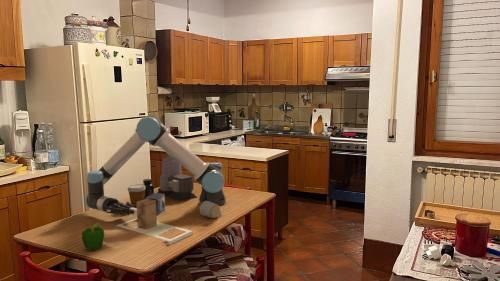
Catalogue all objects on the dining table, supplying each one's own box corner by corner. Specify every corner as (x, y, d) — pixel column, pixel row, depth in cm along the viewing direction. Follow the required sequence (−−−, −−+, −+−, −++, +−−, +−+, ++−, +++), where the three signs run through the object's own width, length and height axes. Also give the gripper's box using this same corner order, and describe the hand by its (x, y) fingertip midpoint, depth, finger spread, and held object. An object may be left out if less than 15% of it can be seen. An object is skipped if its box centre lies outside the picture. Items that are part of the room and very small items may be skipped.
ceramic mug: (210, 220, 187) (210, 205, 186) (199, 217, 192) (199, 202, 191) (225, 215, 195) (225, 200, 194) (214, 212, 200) (214, 198, 199)
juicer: (152, 192, 240) (150, 154, 237) (174, 187, 251) (173, 151, 247) (177, 202, 218) (175, 160, 215) (200, 197, 228) (199, 157, 225)
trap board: (116, 228, 177) (115, 225, 176) (139, 220, 188) (139, 217, 188) (169, 244, 157) (169, 241, 157) (192, 234, 169) (192, 230, 169)
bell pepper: (82, 254, 149) (80, 229, 148) (82, 246, 157) (81, 223, 155) (105, 250, 153) (104, 226, 151) (104, 243, 160) (103, 220, 159)
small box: (157, 219, 189) (156, 198, 188) (145, 218, 191) (144, 198, 189) (166, 212, 200) (165, 193, 198) (154, 211, 201) (153, 192, 200)
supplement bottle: (139, 199, 223) (138, 180, 222) (149, 197, 229) (148, 177, 227) (147, 201, 219) (146, 181, 218) (156, 199, 224) (155, 179, 223)
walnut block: (137, 227, 174) (136, 201, 172) (147, 223, 179) (146, 198, 177) (146, 229, 171) (145, 203, 169) (156, 225, 176) (155, 200, 174)
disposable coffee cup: (133, 211, 202) (132, 189, 201) (125, 207, 209) (124, 186, 208) (149, 207, 208) (148, 186, 207) (141, 203, 216) (140, 183, 214)
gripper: (119, 208, 195) (151, 216, 182) (97, 215, 184) (129, 224, 171) (119, 194, 194) (150, 201, 181) (96, 200, 183) (128, 208, 170)
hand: (140, 212), depth 176 cm, fingers closed
